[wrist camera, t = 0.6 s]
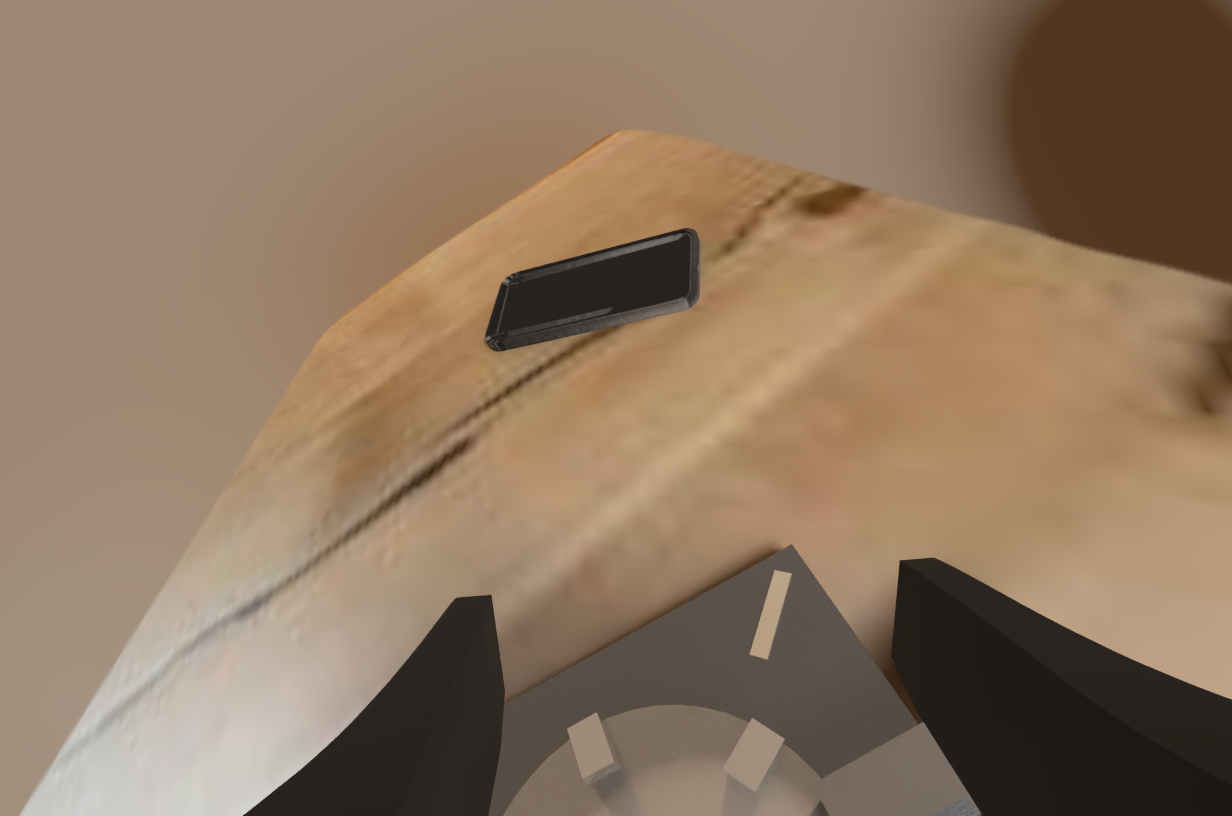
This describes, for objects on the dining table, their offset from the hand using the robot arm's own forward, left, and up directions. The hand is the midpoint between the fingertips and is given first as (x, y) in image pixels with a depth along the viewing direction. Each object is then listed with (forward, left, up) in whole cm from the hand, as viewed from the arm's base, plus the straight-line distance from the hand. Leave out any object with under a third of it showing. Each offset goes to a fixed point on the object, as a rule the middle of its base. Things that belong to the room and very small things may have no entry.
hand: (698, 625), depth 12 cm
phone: (+34, -3, -17) cm, 38 cm away
